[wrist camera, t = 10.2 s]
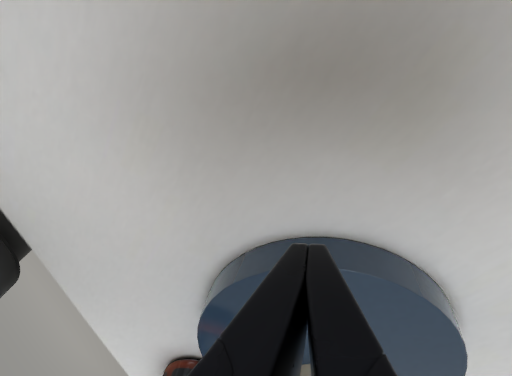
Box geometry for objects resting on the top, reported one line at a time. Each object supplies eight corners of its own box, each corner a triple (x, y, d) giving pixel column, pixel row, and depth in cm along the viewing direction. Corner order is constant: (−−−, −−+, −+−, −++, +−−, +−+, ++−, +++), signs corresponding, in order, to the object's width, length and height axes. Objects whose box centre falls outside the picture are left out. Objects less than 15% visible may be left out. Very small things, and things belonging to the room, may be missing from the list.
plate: (223, 380, 31) (215, 410, 29) (189, 229, 22) (174, 257, 20) (428, 408, 27) (437, 444, 25) (486, 245, 19) (505, 279, 17)
